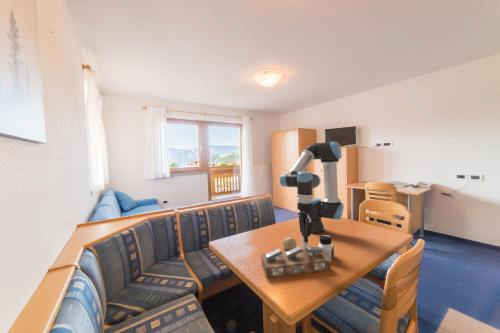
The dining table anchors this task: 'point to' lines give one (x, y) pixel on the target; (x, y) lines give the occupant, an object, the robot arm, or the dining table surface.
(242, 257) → the dining table surface
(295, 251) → the block
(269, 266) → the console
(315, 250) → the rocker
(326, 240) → the medicine bottle
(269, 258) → the block
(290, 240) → the apple
